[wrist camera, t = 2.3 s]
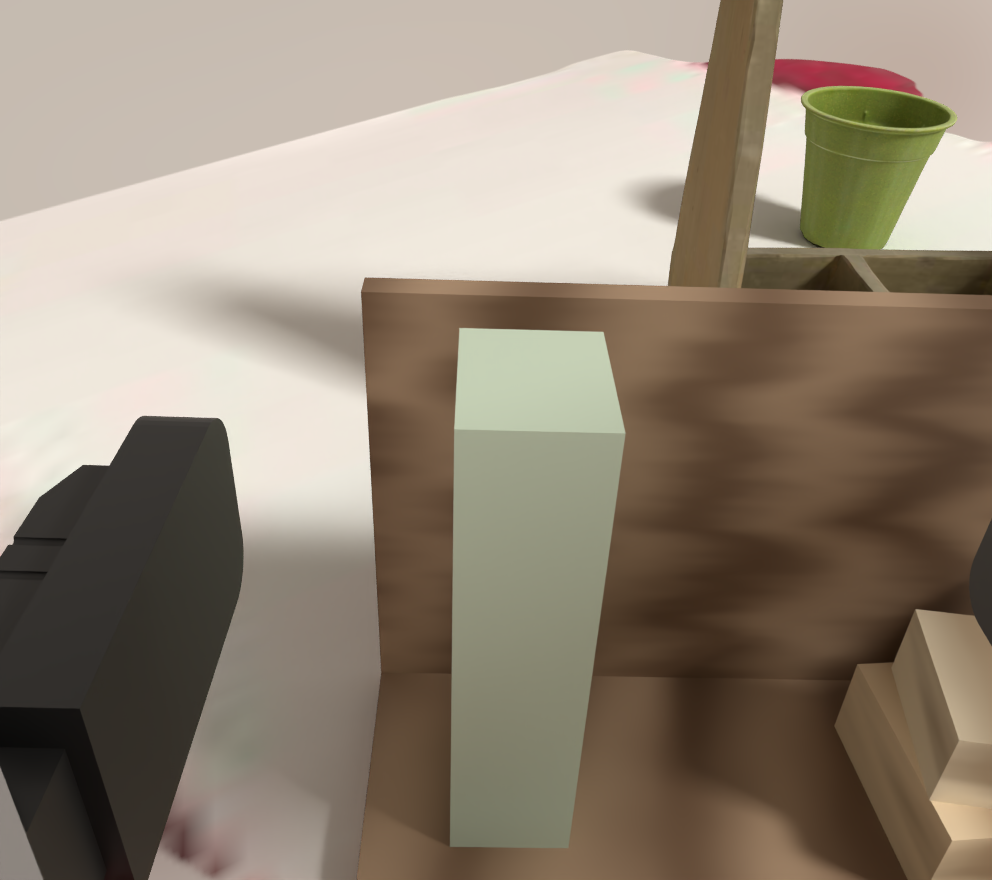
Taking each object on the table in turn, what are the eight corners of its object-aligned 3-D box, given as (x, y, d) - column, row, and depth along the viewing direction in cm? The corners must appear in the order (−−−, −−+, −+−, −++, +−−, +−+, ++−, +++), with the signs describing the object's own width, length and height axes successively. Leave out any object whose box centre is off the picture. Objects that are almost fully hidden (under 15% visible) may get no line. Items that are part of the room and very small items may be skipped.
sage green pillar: (558, 726, 35) (603, 332, 26) (568, 848, 31) (625, 433, 22) (454, 724, 35) (459, 328, 26) (449, 846, 31) (454, 429, 22)
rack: (950, 682, 39) (1129, 299, 29) (1121, 1012, 29) (1498, 589, 19) (384, 673, 39) (364, 277, 29) (345, 1005, 28) (291, 564, 18)
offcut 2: (980, 717, 37) (1011, 656, 35) (1090, 888, 31) (1135, 827, 29) (834, 725, 36) (857, 664, 34) (918, 902, 30) (952, 840, 28)
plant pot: (761, 250, 77) (790, 112, 71) (785, 205, 86) (812, 79, 80) (911, 279, 74) (956, 136, 67) (919, 228, 83) (959, 98, 76)
